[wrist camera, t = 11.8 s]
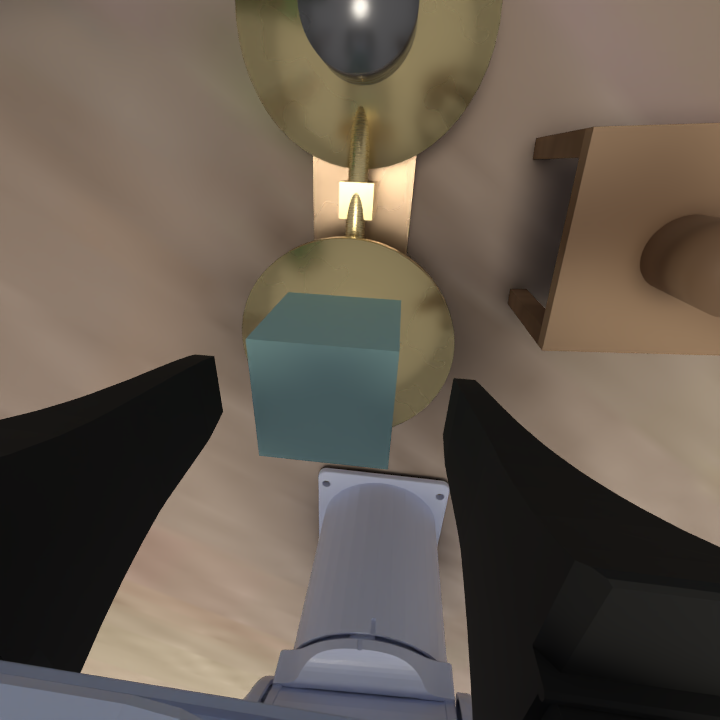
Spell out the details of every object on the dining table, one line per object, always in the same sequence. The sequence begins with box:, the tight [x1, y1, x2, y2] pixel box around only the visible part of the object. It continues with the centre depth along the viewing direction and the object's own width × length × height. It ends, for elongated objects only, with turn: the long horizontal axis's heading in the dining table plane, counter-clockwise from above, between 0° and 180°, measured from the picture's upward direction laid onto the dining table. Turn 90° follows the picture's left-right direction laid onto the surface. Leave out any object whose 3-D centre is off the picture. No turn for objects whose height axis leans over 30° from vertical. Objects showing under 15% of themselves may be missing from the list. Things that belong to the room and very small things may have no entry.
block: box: [246, 292, 401, 469], centre depth 12 cm, size 4×4×4 cm
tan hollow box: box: [508, 123, 720, 355], centre depth 12 cm, size 7×7×7 cm
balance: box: [235, 0, 502, 427], centre depth 14 cm, size 18×8×5 cm, turn 177°
